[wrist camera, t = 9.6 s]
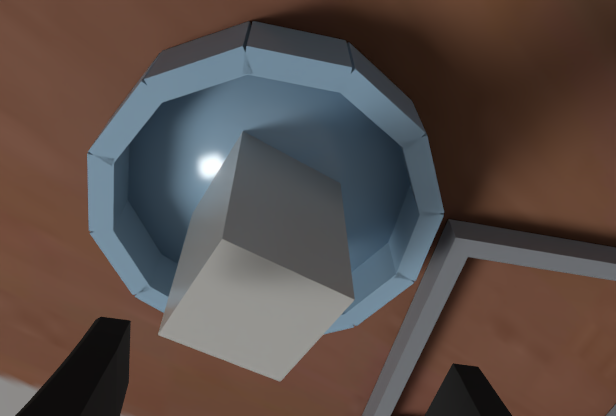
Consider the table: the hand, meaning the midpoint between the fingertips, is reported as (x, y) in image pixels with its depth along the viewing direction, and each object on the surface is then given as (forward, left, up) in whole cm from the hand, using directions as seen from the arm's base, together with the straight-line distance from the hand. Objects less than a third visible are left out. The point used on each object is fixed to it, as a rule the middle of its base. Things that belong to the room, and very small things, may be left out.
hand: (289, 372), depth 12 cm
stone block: (+1, +1, -9) cm, 9 cm away
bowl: (+1, +1, -9) cm, 9 cm away
